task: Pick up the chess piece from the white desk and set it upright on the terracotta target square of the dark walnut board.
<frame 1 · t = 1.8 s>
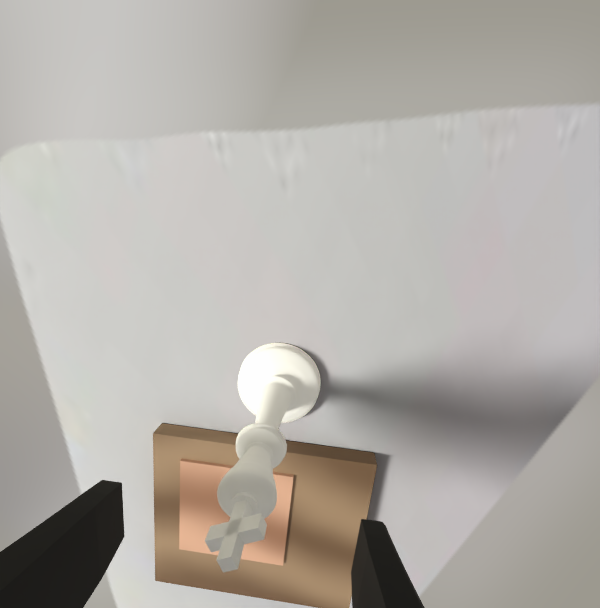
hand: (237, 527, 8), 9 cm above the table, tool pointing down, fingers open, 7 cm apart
chess piece: (280, 379, 17), on the table
walnut board: (259, 513, 20), on the table
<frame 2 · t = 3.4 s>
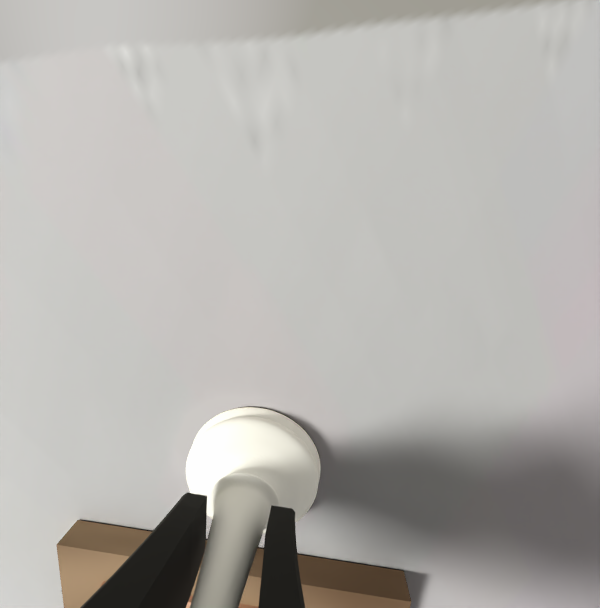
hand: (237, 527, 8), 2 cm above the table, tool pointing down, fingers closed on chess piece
chess piece: (256, 460, 11), on the table, touching gripper
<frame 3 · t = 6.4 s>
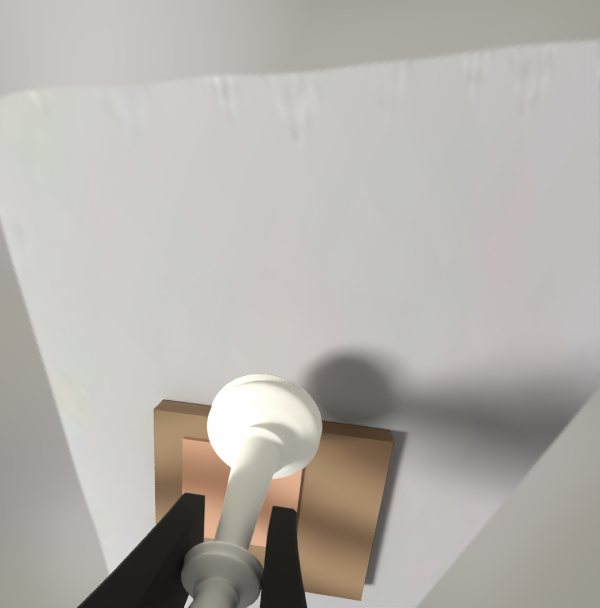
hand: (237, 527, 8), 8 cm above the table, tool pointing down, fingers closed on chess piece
chess piece: (266, 419, 13), point 4 cm above the table, touching gripper
walnut board: (266, 496, 18), on the table
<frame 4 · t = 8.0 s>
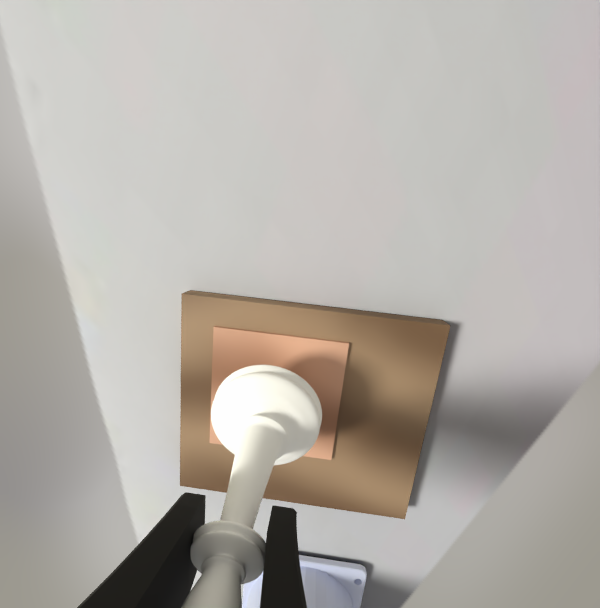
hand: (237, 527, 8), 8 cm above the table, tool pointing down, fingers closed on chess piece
chess piece: (268, 409, 13), point 3 cm above the table, touching gripper
walnut board: (302, 403, 17), on the table
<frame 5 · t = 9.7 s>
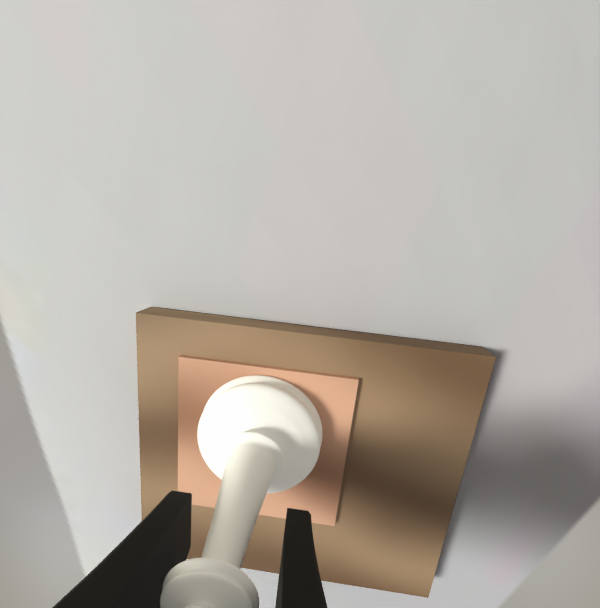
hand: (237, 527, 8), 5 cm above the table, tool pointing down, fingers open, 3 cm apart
chess piece: (262, 427, 12), point 1 cm above the table, touching walnut board
walnut board: (296, 450, 13), on the table
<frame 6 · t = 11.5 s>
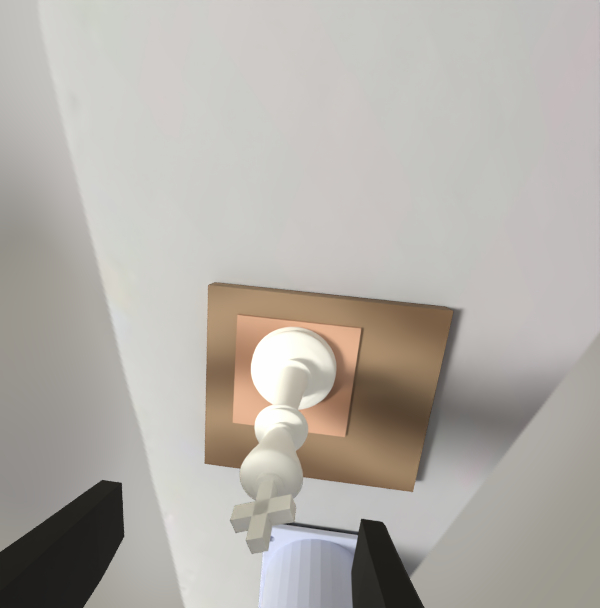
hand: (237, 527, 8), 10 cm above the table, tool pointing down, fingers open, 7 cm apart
chess piece: (294, 365, 17), point 1 cm above the table, touching walnut board
walnut board: (317, 386, 18), on the table
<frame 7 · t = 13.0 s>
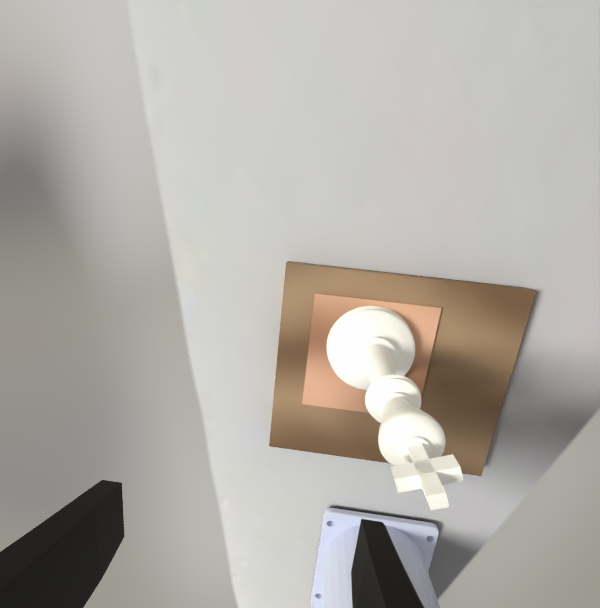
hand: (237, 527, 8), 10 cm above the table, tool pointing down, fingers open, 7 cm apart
chess piece: (368, 345, 17), point 1 cm above the table, touching walnut board
walnut board: (386, 368, 18), on the table
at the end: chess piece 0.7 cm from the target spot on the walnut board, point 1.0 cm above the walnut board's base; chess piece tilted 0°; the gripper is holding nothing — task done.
